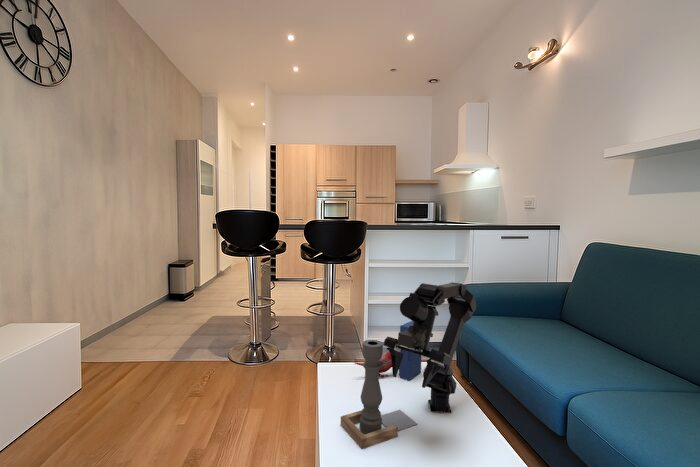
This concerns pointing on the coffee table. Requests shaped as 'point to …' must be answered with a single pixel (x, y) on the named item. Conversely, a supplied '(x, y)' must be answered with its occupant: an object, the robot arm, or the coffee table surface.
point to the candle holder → (371, 387)
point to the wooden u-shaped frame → (369, 438)
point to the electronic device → (409, 360)
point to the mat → (397, 420)
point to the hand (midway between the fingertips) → (408, 382)
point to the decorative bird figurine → (383, 363)
